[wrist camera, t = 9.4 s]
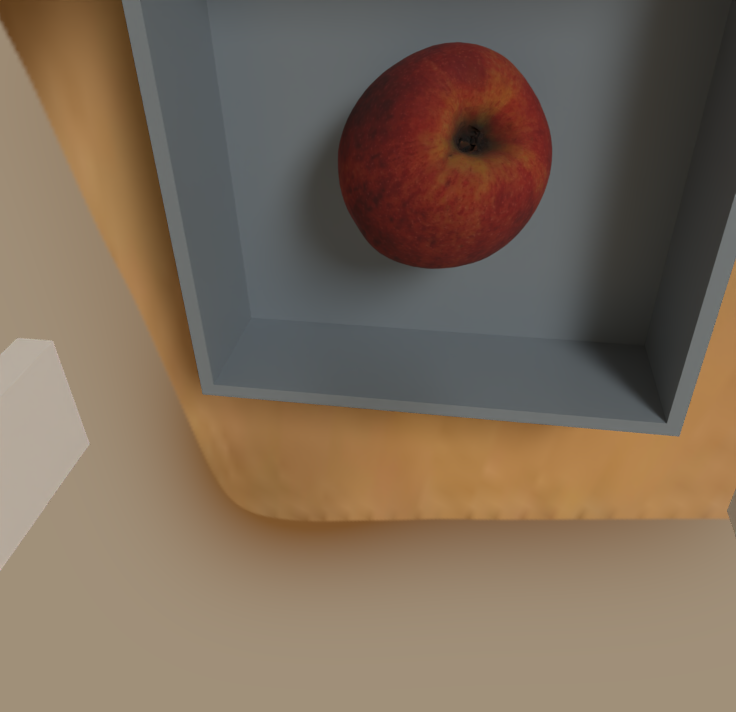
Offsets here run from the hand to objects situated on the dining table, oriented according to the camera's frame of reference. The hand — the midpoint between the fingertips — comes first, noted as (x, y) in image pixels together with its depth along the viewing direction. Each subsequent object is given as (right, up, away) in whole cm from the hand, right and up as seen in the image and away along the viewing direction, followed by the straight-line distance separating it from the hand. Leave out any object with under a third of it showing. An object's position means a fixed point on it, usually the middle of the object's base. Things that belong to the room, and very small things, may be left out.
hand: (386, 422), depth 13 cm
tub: (+3, +10, +15) cm, 19 cm away
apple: (+3, +10, +15) cm, 18 cm away
